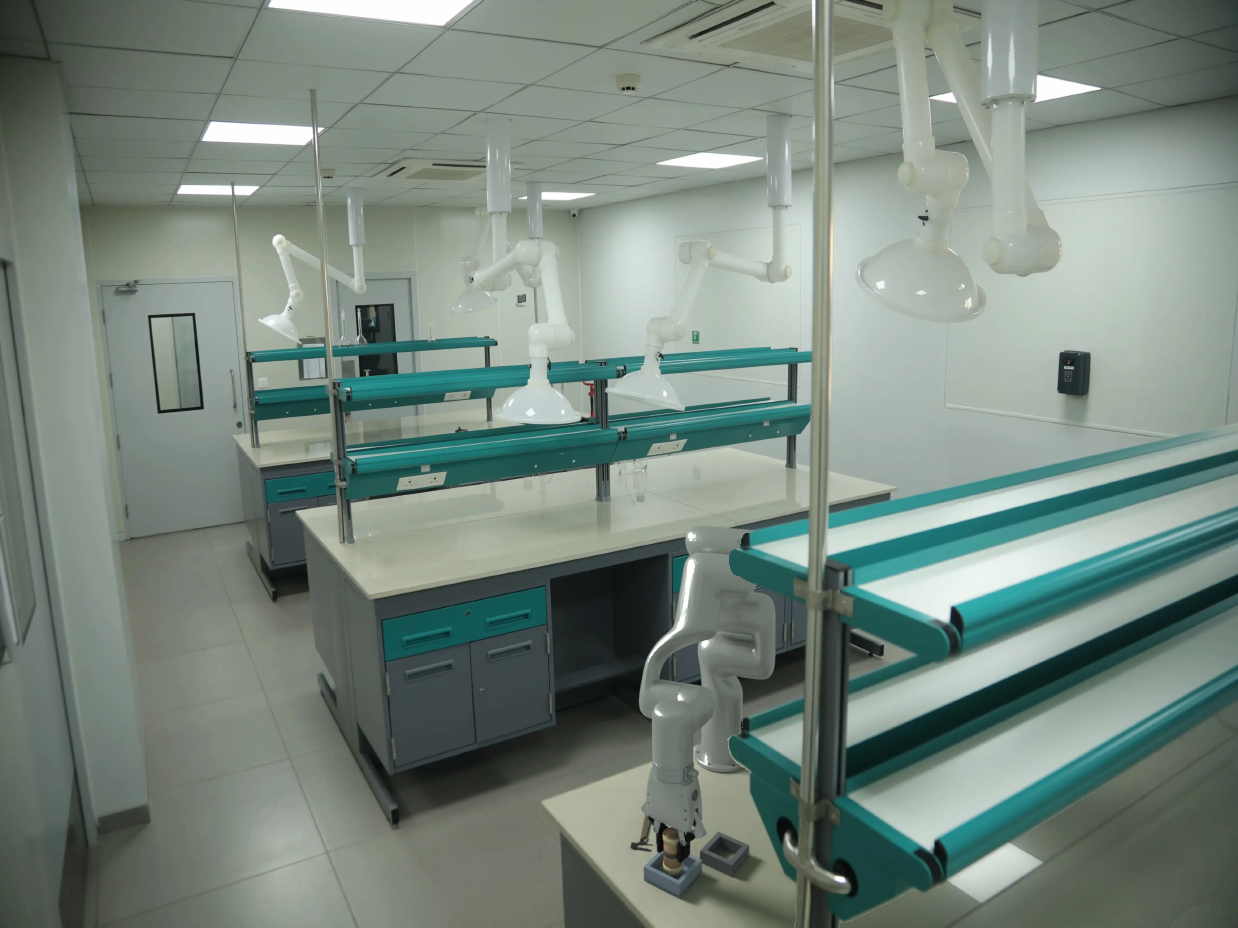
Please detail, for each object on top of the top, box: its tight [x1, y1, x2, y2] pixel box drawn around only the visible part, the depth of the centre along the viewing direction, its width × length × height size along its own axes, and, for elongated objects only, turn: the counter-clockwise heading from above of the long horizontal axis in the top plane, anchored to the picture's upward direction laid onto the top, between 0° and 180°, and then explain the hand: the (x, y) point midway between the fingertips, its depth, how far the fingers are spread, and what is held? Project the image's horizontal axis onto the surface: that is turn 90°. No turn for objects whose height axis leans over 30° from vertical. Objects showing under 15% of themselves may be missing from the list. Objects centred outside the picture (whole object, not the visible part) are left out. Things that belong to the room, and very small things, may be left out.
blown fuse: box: [663, 826, 683, 875], centre depth 155 cm, size 4×4×8 cm
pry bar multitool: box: [630, 814, 654, 853], centre depth 173 cm, size 21×7×1 cm, turn 168°
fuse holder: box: [699, 831, 750, 878], centre depth 160 cm, size 7×7×2 cm
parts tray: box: [643, 851, 703, 899], centre depth 156 cm, size 8×8×3 cm
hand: (673, 852), depth 155 cm, fingers open, 4 cm apart
